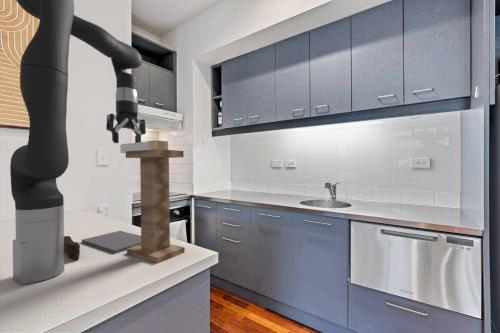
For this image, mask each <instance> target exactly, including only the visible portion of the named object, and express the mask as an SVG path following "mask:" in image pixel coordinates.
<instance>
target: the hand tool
mask: <svg viewBox="0 0 500 333" xmlns="http://www.w3.org/2000/svg"><path fill="white" fill-rule="evenodd" d="M80 251H81V245H80V243H79V242H75V241H73V240H72V237H71V236H70V235H64V253H66V254H67V256H68V257H67V258H69V259H70V260H73V261H78V260H79V259H80V254H81V252H80Z"/></svg>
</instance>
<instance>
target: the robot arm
mask: <svg viewBox="0 0 500 333" xmlns="http://www.w3.org/2000/svg"><path fill="white" fill-rule="evenodd" d="M15 1H16V3H17V4H18V5H19V7H21V9H23V10H24V12H26V13H28V14H29V15H30V16H32V17H33V18H36V19H38V20H39V22H38V25H37V30H36V31H35V33H34V35H33V37H32V38H31V40H30V41H29V43H28V45H27V46H26V48H25V50H24V52H23V54H22V57H21V60H20V69H19V89H20V93H21V96H22V99H23V102H24V106H25V108H26V111H27V113H28V114H27V115H28V120H29V132H28V138H27V139H28V140H27V144H25V145H22V146H20V147H18V148H17V149H16V150H14V152H13V154H11V155H12V156H11V158H10V165H9V170H10V171H9V172H10V174H9V175H10V188H11V196H12V198H13V200H14V206H15V208H14V209H15V215H14V216H15V239H13V240H12V280H14V281H15V282H17V283H18V284H19V285H21V286H22V285H26V284H31V283H38V282H42V281H45V280H50V279H51V278H54V277H56V276H59V275H61V274H62V273H63V272H64V271H65V251H64V236H65V215H64V213H65V212H64V210H65V209H64V208H65V205H64V204H65V203H64V200H65V198H64V195H63V193H62V192H60V190H59V188H58V186H57V185H58V184H57V178H60V177H62V175H63V174H64V173H65V172H66V171H67V169H68V166H69V163H70V162H69V158H70V157H69V147H68V136H67V112H68V111H67V109H68V108H67V105H68V104H67V103H68V90H69V89H68V87H69V56H70V55H69V53H70V52H69V51H70V39H71V36H72V37H75V38H77V39H78V40H80V41H82V42H84V43H85V44H87V45H88V46H89V47H92V48H93V49H95V50H96V51H98V52H99V53H101V54H102V55H103V56H106V57H107V58H109V59H110V60H111V65H112V67H113V70H114V75H115V79H116V80H115V81H116V83H115V84H116V86H115V87H116V91H115V114H114V113H109V114H107V115H106V129H105V130H106V131H108V132H110V133H111V135H112V136H111V141H112V142H113V143H114V144H119V143H120V141H119V131H120V130H121V129H128V130H131V131H132V132H133V133H134V143H138V142H142V136H144V135H146V134H147V129H146V120H145V119H143V118H141V119H138V115H139V106H138V105H139V99H138V97H139V96H138V79H137V77H136V75H134V74H132V73H129V72H127V70H131V69H133V70H134V69H138V68H140V67H141V66H142V62H143V58H142V55H141V53H139V50H137V49H136V48H134V47H133V46H132V45H129V44H127V43H125V42H123V41H121V40H118V39H117V38H116V37H114V36H113V35H112V34H111V33H109V32H108V31H107V30H106V29H104V28H103V27H101V26H99V25H97V24H96V23H93V22H90V21H89V20H85V19H83V18H81V17H79V16H77V15H75V14H74V13H75V3H74V2H75V1H74V0H15ZM115 121H116V122H117V123H116V124H115V125H114V123H115Z"/></svg>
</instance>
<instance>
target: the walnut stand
mask: <svg viewBox="0 0 500 333" xmlns="http://www.w3.org/2000/svg"><path fill="white" fill-rule="evenodd" d="M184 155H185V154H184V150H173V149H168V150H161V149H153V150H139V151H126V153H125V159H140V160H139V165H140V166H139V167H140V168H139V170H140V172H139V173H140V176H139V177H140V178H139V179H140V236H141V244H140V245H137V246H134V247H130V248H127V250H126V254H127V255H131V256H134V257H137V258H140V259H144V260H146V261H150V262H152V263H155V264H159V263H162V262H164V261H167V260H169V259H171V258H174V257H176V256H178V255H182V254H184V253H185V252H186V251H185V250H186V248H185V247H184V246H181V245H176V244H172V243H171V233H170V232H171V227H170V221H171V220H170V218H171V217H170V158H171V159H172V158H173V159H174V158H177V159H178V158H184Z"/></svg>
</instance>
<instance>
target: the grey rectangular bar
mask: <svg viewBox="0 0 500 333" xmlns="http://www.w3.org/2000/svg"><path fill="white" fill-rule="evenodd" d="M119 146H120V154H126V151H139V150H153V149H161V150H169V141H167V140H155V139H153V140H148V141H141V142H138V143H135V142H132V143H131V142H130V143H120V145H119Z"/></svg>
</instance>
